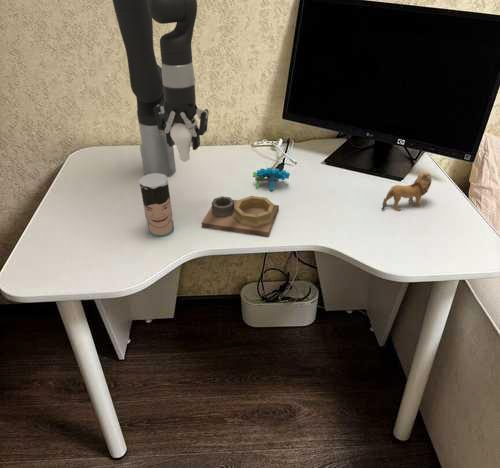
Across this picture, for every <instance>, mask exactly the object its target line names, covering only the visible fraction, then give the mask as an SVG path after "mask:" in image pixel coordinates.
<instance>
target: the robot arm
mask: <svg viewBox="0 0 500 468" xmlns="http://www.w3.org/2000/svg"><path fill="white" fill-rule="evenodd" d="M112 4H113V5H112V6H113V8H114V12H115V16H116V20H117V23H118V27H119V32H120V35H121V39H122V43H123V45H124V49H125V52H126V57H127V64H128V73H129V74H128V75H129V83H130V88H131V91H132V93H133V95H135V97H136V113H137V114H136V115H137V121H138V126H139V133H140V138H141V144H140V146H139V150H140V155H141V163H142V167H143V173H144V175H147V174H152V173H160V174H164V175H166V176H167V178H168V177H171V176H172V175H174V174H175V173H176V171H177V168H176V161H175V160H176V159H175V151H174V145H176V144H175V143H174V141H173V140H172V138H171V135H170V130H171V127H172V125H173V124H174V123H182V124H186V126H187V127H188V129H190V131H191V133H192V135H193V136H192V143H191V145H192V150H193V151H196V150H197V149H198V148H199V147H200V145H201V140H200V139H201V138H200V136H204V135H205V133H207V131H208V122H209V112H210V111H209V109H207V108H206V109H200V108H198V106H197V104H196V101H197V100H196V84H195V81H196V77H195V70H194V64H193V52H192V51H193V50H192V43H193V42H192V41H193V34H194V28H195V22H196V18H197V13H198V0H112ZM153 20H154V21H155V22H156V23H158V24H161V25H163V24H164V25H165V24H166V25H167V24H171V23H174V24H175V23H176V24H175V27H174V28H173V30H171V31H169V32H167V33H165V34H163V35H161V36H160V38H159V48H160V61H161V66H160V65H159V64H158V63H157V59H156V55H155V48H154V31H153V30H154V27H153ZM195 116H198V119H199V125H198V122H197V121H198V120H196V117H195Z"/></svg>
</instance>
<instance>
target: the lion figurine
mask: <svg viewBox="0 0 500 468" xmlns="http://www.w3.org/2000/svg"><path fill="white" fill-rule="evenodd" d="M431 185H432V176H431V173H429V172H425V171H423V172H422V173H418V175H417V178H416V179H415V180H414V182H413V183H412V184H408V185H400V184H395V185H393V186H391V187H390V189H389V191H388V192H387V194H386V196H385V197H384V199H383V201H382V207H381V210H385V208H386V207H387V206H388V203H387V202H388V201H389V200H390V199H392V198H393V202H394V203H393V207H394V209H395V210H396V211H401V210H402V208H401V207H399V206H398V205H399V202H400V201H401V200H402V198H403V199H408V203H411V204H413V203H414V207H416V208H420V207H421V206H420V201H421V198H422V197H423V196H425V195H426V194H427V193H428V191H429V190H430V188H431ZM414 198H415V202H414V200H413V199H414Z"/></svg>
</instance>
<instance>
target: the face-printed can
mask: <svg viewBox="0 0 500 468" xmlns="http://www.w3.org/2000/svg"><path fill="white" fill-rule="evenodd" d="M139 186H140V192H141V197H142V202H143V208H144V215H145V219H146V228H147V232H148V234H149V236H151V237H153V238H158V239H160V238H165V237H168V236H170V235H172V234H173V233H174V232H175V224H174V216H173V210H172V204H171V195H170V188H169V180H168V177H167V176H166V175H164V174H160V173H152V174H144V175H143V176H142V177H140V179H139Z"/></svg>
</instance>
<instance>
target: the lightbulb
mask: <svg viewBox="0 0 500 468" xmlns="http://www.w3.org/2000/svg"><path fill="white" fill-rule="evenodd" d="M170 135H171V138H172V140H173V141H174V143H175V144H174V145H175V146H176V149H177V153H178V154H179V156H178V157H179V160H180V161H181V162H185V163H186V162H188V161H189V160H190V153H191V145H192V136H193V135H192V133H191V131H190V129H188V127H187V126H186V124H182V123H174V124H173V125H172V127H171V130H170Z"/></svg>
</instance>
